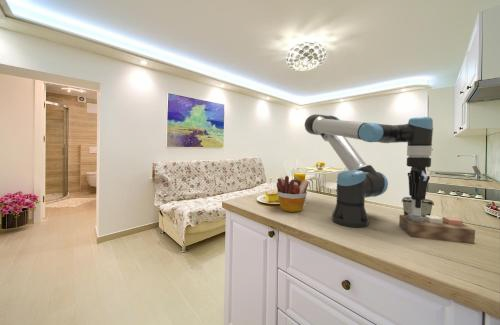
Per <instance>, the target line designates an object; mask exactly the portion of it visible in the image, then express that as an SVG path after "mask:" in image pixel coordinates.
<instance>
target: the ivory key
mask: <svg viewBox="0 0 500 325" xmlns="http://www.w3.org/2000/svg"><path fill="white" fill-rule="evenodd" d="M441 218H442V217H439V216H437V215H430V216H428V215H425V221H427V222H428V223H436V224H443V219H441Z"/></svg>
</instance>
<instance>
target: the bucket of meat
mask: <svg viewBox="0 0 500 325" xmlns="http://www.w3.org/2000/svg"><path fill="white" fill-rule="evenodd" d="M309 184H310V181H307V180H304V179H303V180H302V181H301V180H300V179H299V177H298V176H295V177H294V179H290V177H289V176H288V175H286V176H285V177H284V178H283V177H282V176H281V177H279V178H277V182H276V189H277V191H276V192H277V197H278V201H279V206H280V209H281V210H283V211H285V212H288V213H300V212H302V210H303V209H304V205H305V201H306V197H307V194H308V192H307V189H308V187H309Z"/></svg>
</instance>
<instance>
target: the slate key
mask: <svg viewBox="0 0 500 325" xmlns="http://www.w3.org/2000/svg"><path fill="white" fill-rule="evenodd" d="M408 220H410V221H413V222H424V217H422V216H414V215H411V214H408Z"/></svg>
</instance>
